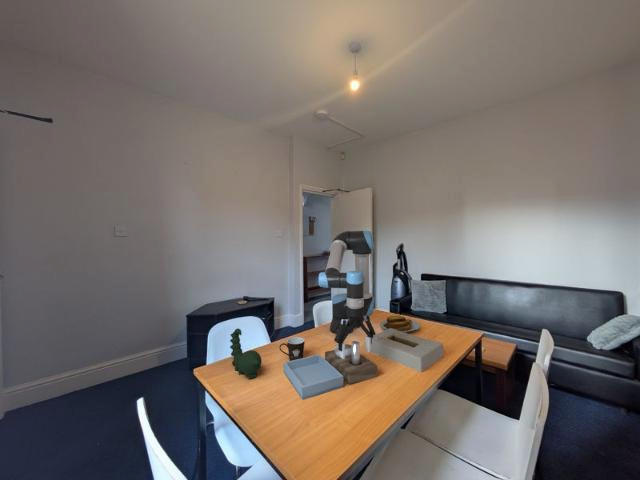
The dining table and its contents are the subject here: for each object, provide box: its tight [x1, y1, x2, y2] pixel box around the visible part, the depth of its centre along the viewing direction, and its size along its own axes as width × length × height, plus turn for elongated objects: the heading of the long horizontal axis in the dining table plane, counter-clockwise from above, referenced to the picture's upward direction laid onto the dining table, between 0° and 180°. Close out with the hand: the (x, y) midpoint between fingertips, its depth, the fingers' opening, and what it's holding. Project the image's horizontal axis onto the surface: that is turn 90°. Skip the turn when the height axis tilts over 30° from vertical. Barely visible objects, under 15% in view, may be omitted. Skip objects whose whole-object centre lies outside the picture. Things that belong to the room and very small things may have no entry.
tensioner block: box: [324, 343, 378, 386], centre depth 120 cm, size 22×14×8 cm, turn 26°
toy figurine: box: [229, 328, 262, 380], centre depth 118 cm, size 9×19×25 cm
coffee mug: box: [279, 336, 306, 361], centre depth 129 cm, size 12×9×10 cm
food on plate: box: [380, 315, 421, 333], centre depth 173 cm, size 25×25×7 cm
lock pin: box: [351, 340, 361, 366], centre depth 115 cm, size 4×4×14 cm
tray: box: [283, 354, 344, 401], centre depth 111 cm, size 22×18×4 cm
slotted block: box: [364, 328, 444, 373], centre depth 136 cm, size 23×8×32 cm
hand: (355, 354), depth 115 cm, fingers open, 13 cm apart
